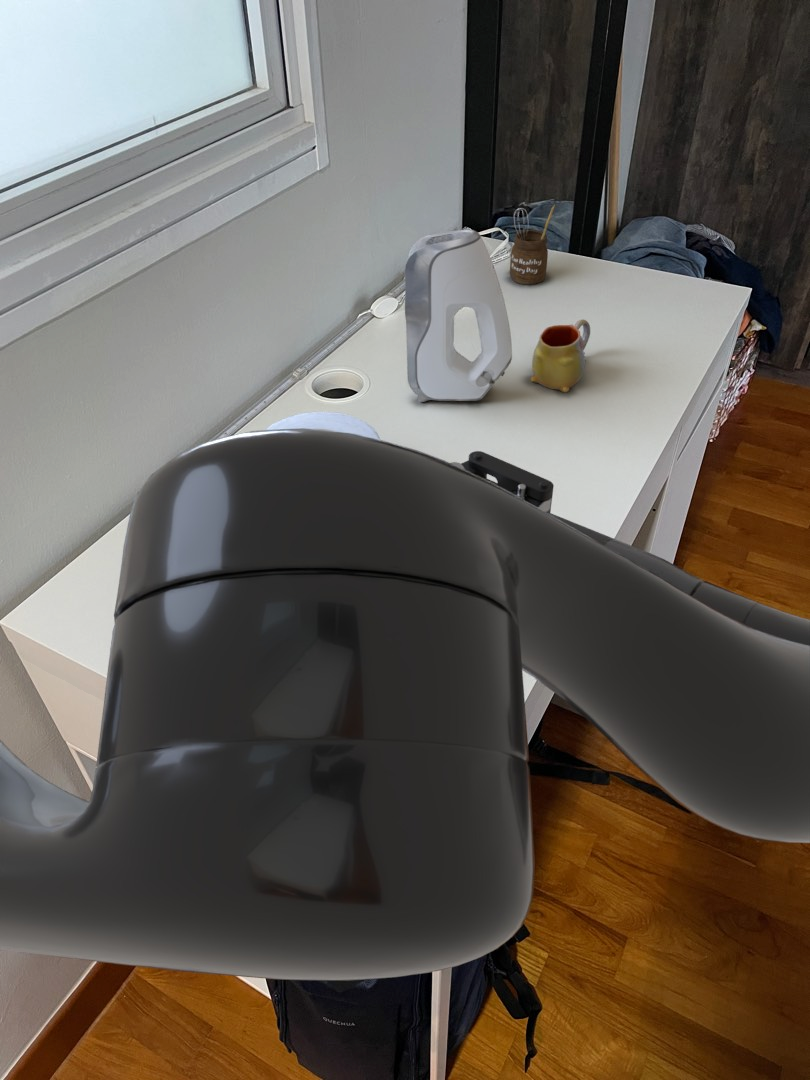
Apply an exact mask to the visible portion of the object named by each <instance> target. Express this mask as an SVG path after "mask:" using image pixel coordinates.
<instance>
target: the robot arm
mask: <svg viewBox="0 0 810 1080" xmlns="http://www.w3.org/2000/svg"><path fill="white" fill-rule="evenodd" d="M488 475H489V476H491V477H493V478H495V479H496V481H497V482H496V481H493V480H491V479H489V478H488ZM554 487H555V486H554V483H553V482H552V481H551V480H549V479H546V478H544V477H542V476H539V475H537V474H535V473H532V472H531V471H528V470H526V469H523V468H521V467H518V466H517V465H515V464H512V463H510V462H508V461H506V460H503V459H500V458H498V457H496V456H493V455H491V454H488V453H487V452H484V451H481V450H480V451H479V450H475V451H472V452H471V453H469V454H468V460H465V461H464V462H461V463H460V462H457V461H453V462H452V461H451V462H449V461H446V460H444V459H442V458H439V457H437V456H433V455H431V454H428V453H425V452H423V451H421V450H418V449H414V448H411V447H407V446H404V445H400V444H398V443H397V444H396V443H393V442H390V441H386V440H383V439H381V440H379V439H375V438H370V437H366V436H362V435H358V434H353V433H344V432H335V431H326V430H318V429H305V428H299V429H276V430H265V429H262V430H261V429H260V430H251V431H246V432H242V433H236V434H233V435H227V436H223V437H218V438H215V439H213V440H209V441H206V442H203V443H201V444H199V445H196V446H194V447H192V448H189V449H186V450H185V451H183V452H181V453H179V454H177V455H176V456H174V457H173V458H172V459H170V460H169V461H167V462H165V464H164V465H162V466H161V467H159V468H158V469H157V470H155V471H154V472H153V473H151V475H149V477H148V478H147V479H146V481H145V482H144V484H143V485H142V487H141V488H140V490H139V491H138V492H137V494H136V495H135V499H134V500H133V504H132V507H131V509H130V512H129V516H128V522H127V526H126V531H125V537H124V542H123V546H122V547H123V549H122V556H121V564H120V571H119V579H118V586H117V587H118V588H117V594H116V600H115V607H114V612H113V620H114V622H113V623H114V625H113V628H112V632H111V641H110V649H109V655H108V656H109V658H108V665H107V674H106V681H105V688H104V689H105V690H104V699H103V707H102V714H101V721H100V723H101V724H100V732H99V739H98V747H97V756H96V765H95V766H96V768H95V770H94V777H93V785H92V790H91V794H90V798H89V800H87V799H84V798H82V797H80V796H78V795H76V794H73V793H71V792H69V791H67V790H65V789H63V788H62V787H59V786H58V785H57V784H54V783H53V782H52V781H50V780H48V779H46V778H45V777H43V776H42V775H41V774H39V773H37V772H36V771H34V770H33V769H31V768H30V766H29V765H27V764H26V763H25V762H24V761H23V760H22V759H20V758H19V757H18V756H17V755H16V754H15V753H14V752H13V751H12V750H11V749H10V748H9V747H8V746H7V745H6V744H5V742H3V741H2V739H0V951H1V952H11V953H18V954H28V955H36V956H44V957H45V956H46V957H54V958H61V959H62V958H63V959H70V960H79V961H88V962H97V963H104V964H114V965H122V966H131V967H132V966H133V967H141V968H148V969H157V970H165V971H174V972H183V973H195V974H206V975H207V974H208V975H218V976H219V975H220V976H231V977H241V978H255V979H257V978H258V979H267V980H282V981H283V980H284V981H333V982H334V981H335V982H336V981H343V982H344V981H346V982H347V981H349V982H351V981H363V980H374V979H387V978H399V977H407V976H415V975H423V974H428V973H433V972H439V971H443V970H447V969H451V968H454V967H458V966H461V965H463V964H466V963H469V962H471V961H474V960H477V959H479V958H482V957H484V956H486V955H488V954H490V953H491V952H494V951H495V950H496V951H497V950H498V949H499V948H500V947H501V946H503V945H504V944H506V943H507V942H508V941H509V940H510V939H511V938H513V937H514V936H515V935H516V933H517V932H518V931H519V930H520V929H521V928H522V927H523V925H524V923H525V922H526V919H527V917H528V916H529V915H530V911H531V907H532V902H533V899H534V889H535V872H536V862H535V861H536V859H535V844H534V843H535V842H534V840H535V839H534V823H533V805H532V803H533V802H532V787H531V769H530V766H529V764H528V763H529V760H530V754H529V753H530V752H529V742H528V740H529V739H528V729H527V727H528V726H527V714H526V701H525V688H524V675H523V672H524V673H526V674H528V675H529V676H531V677H533V678H534V679H535V680H537V681H538V682H539V683H541V684H542V685H543V686H544V687H546V688H548V689H549V690H550V691H552V692H553V693H554V694H556V695H557V696H559V697H560V698H561V699H563V700H564V701H565V702H566V703H567V704H568V705H569V706H571V708H573V709H575V710H576V711H577V713H579V714H580V715H581V716H582V717H583V718H585V719H586V720H587V722H589V724H591V725H593V727H594V728H596V730H598V731H599V732H600V733H601V734H602V735H603V736H604V737H605V739H607V740H608V741H609V742H610V743H611V744H612V745H613V746H614V747H615V748H616V749H617V750H618V751H619V752H620V753H621V754H622V755H623V756H624V757H625V758H626V759H627V760H628V761H629V762H630V763H631V764H632V765H633V766H635V767H636V768H637V770H639V771H640V772H641V773H642V774H643V775H644V776H645V777H646V778H647V779H648V780H649V781H650V782H651V783H653V785H655V786H656V787H657V788H659V789H660V790H661V791H662V792H664V793H665V794H666V795H668V796H669V798H671V799H672V800H674V802H676V803H677V804H679V805H680V806H682V807H683V808H684V809H686V810H688V811H689V812H690V813H692V814H694V815H695V816H697V817H699V818H701V819H703V820H705V821H707V822H709V823H711V824H713V825H714V826H715V827H718V828H720V829H722V830H724V831H728V832H731V833H733V834H737V835H740V836H744V837H746V838H747V837H748V838H750V839H753V840H760V841H766V842H775V843H795V844H796V843H798V844H801V843H802V844H810V619H808V618H804V617H801V616H797V615H795V614H792V613H789V612H788V613H787V612H785V611H783V610H779V609H777V608H774V607H772V606H769V605H766V604H763V603H761V602H757V601H756V600H754V599H752V598H748V597H746V596H743V595H741V594H739V593H736V592H733V591H732V590H729V589H727V588H723V587H722V586H719V585H716V584H714V583H712V582H709V581H706V580H703V579H702V578H700V577H698V576H695V575H694V574H691V573H689V572H688V571H686V570H684V569H683V568H681V567H679V566H678V565H676V564H674V563H672V562H670V561H669V560H666V559H665V558H662V557H660V556H658V555H656V554H654V553H651V552H648V551H646V550H643V549H641V548H638V547H636V546H634V545H631V544H628V543H626V542H623V541H621V540H618V539H616V538H614V537H611V536H609V535H606V534H604V533H602V532H599V531H597V530H593V529H592V528H589V527H586V526H585V525H581V524H579V523H576V522H574V521H571V520H569V519H567V518H564V517H561V516H560V515H557V514H554V513H552V512H551V511H552V503H553V494H554Z"/></svg>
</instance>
